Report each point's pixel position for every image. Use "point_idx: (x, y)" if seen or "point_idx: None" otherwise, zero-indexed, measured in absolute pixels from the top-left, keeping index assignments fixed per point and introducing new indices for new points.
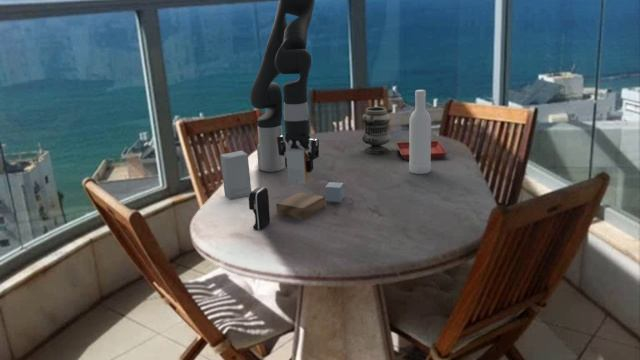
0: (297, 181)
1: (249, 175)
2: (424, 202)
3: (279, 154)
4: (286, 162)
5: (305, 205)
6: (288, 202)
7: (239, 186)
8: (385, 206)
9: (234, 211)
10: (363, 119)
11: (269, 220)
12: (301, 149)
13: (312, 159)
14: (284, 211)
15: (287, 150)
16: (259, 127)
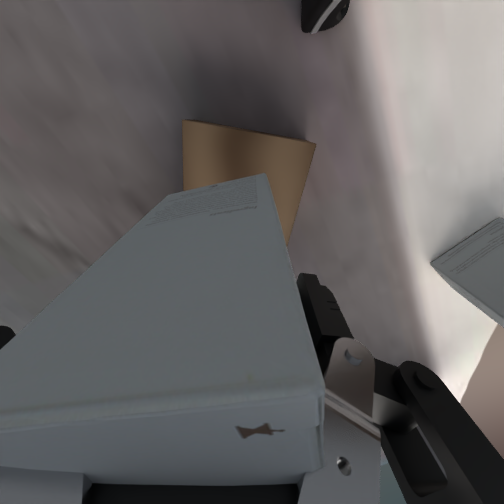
0: (206, 187)
1: (485, 303)
2: (19, 319)
3: (428, 370)
4: (326, 307)
5: (193, 158)
6: (272, 169)
7: (497, 257)
8: (66, 282)
9: (477, 114)
10: None
11: (302, 18)
12: (42, 481)
13: (6, 327)
14: (275, 135)
15: (318, 428)
16: None
